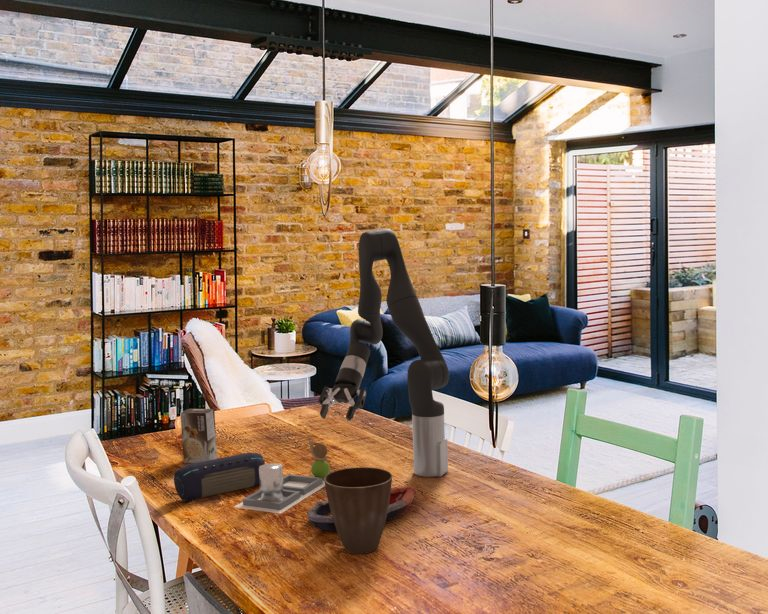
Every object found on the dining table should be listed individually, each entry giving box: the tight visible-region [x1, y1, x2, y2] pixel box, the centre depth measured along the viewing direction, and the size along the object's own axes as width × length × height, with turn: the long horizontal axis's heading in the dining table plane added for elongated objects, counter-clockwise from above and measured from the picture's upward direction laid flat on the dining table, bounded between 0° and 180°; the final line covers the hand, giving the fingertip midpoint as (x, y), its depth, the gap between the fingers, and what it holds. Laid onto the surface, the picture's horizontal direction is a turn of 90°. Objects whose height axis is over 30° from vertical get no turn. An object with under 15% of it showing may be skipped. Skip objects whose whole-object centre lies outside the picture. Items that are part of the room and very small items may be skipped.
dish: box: [306, 486, 416, 532], centre depth 188 cm, size 16×31×5 cm, turn 123°
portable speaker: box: [173, 452, 266, 503], centre depth 209 cm, size 25×10×10 cm, turn 124°
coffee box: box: [180, 408, 218, 464], centre depth 242 cm, size 9×6×16 cm
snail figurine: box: [308, 435, 331, 479], centre depth 220 cm, size 5×6×12 cm
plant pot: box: [323, 466, 393, 555], centre depth 169 cm, size 15×15×16 cm
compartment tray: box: [233, 473, 325, 514], centre depth 203 cm, size 14×26×3 cm, turn 156°
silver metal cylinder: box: [259, 462, 284, 502], centre depth 197 cm, size 6×6×9 cm
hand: (335, 418), depth 229 cm, fingers open, 8 cm apart
